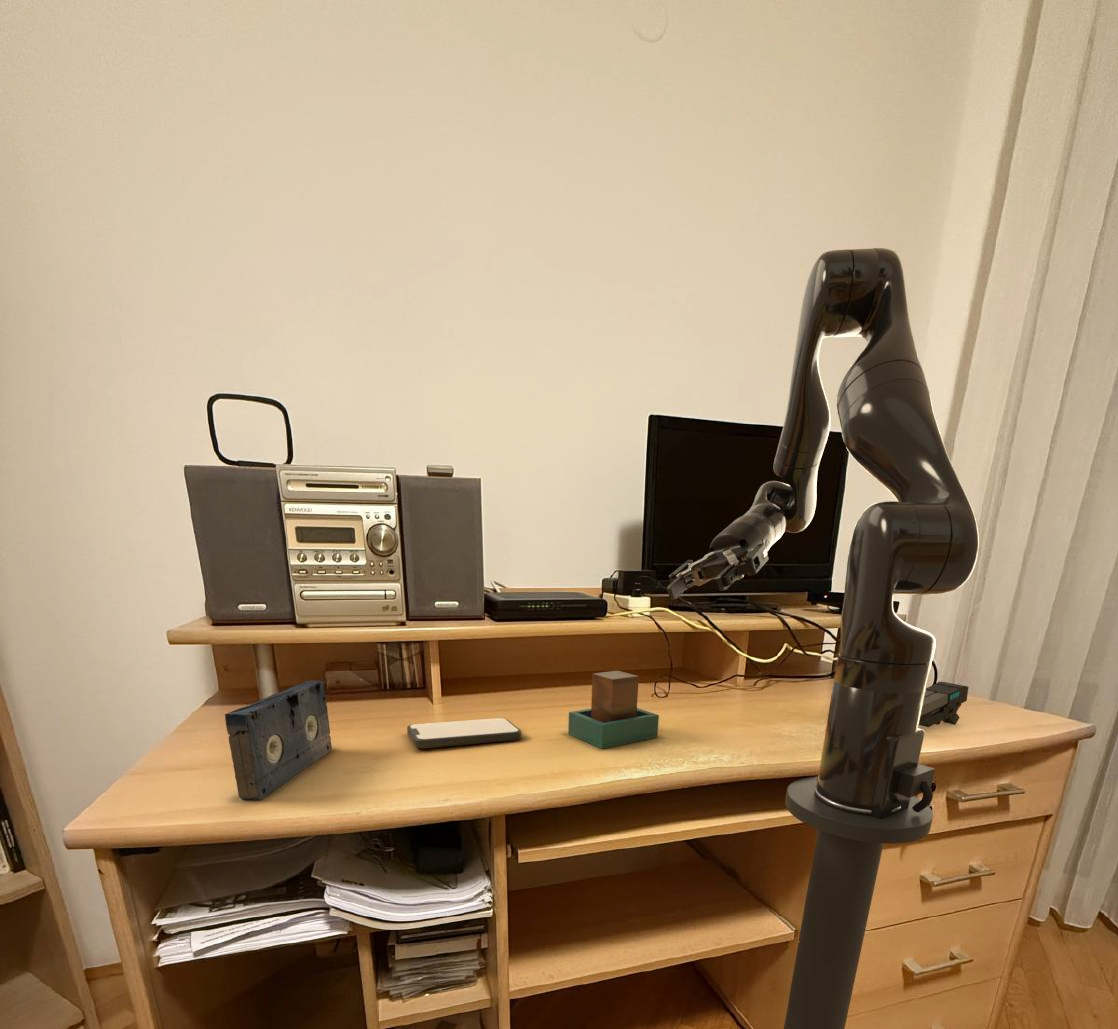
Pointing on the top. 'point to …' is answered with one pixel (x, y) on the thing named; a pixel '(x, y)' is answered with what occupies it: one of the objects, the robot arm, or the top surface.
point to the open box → (613, 728)
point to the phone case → (462, 732)
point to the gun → (942, 703)
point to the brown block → (614, 696)
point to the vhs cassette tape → (278, 738)
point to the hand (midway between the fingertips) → (694, 589)
